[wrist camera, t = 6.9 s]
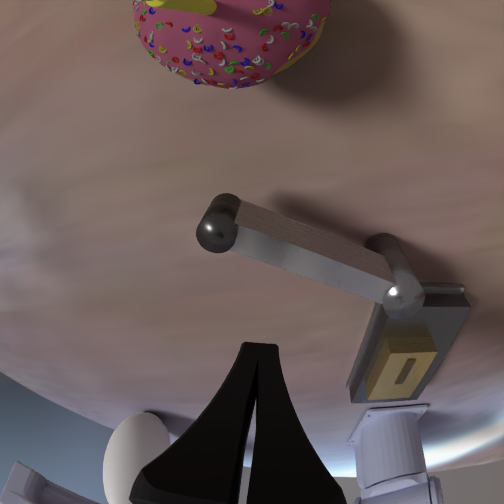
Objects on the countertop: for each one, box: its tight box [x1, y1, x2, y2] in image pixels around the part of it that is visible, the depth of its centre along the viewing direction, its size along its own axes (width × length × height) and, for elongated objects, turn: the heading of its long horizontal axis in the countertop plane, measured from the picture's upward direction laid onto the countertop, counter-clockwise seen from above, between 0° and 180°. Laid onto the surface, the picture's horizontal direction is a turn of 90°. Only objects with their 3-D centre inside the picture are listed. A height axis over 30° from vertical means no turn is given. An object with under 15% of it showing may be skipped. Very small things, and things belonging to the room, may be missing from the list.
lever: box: [196, 193, 425, 319], centre depth 17 cm, size 12×2×6 cm, turn 70°
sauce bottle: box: [103, 412, 171, 504], centre depth 28 cm, size 8×8×18 cm
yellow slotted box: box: [365, 337, 438, 400], centre depth 21 cm, size 6×4×2 cm, turn 179°
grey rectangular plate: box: [346, 283, 471, 403], centre depth 23 cm, size 13×7×2 cm, turn 179°
